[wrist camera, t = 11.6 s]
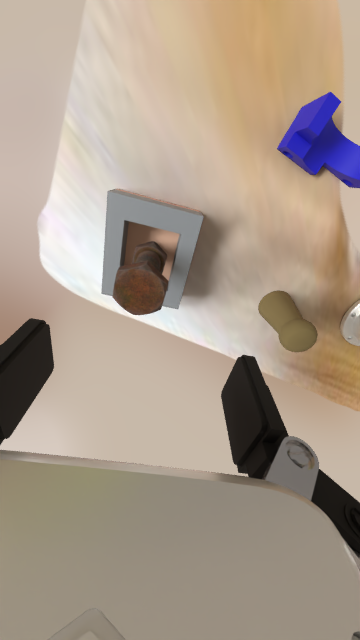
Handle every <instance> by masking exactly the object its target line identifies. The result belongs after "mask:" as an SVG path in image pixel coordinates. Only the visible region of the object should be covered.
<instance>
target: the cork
mask: <svg viewBox="0 0 360 640" xmlns="http://www.w3.org/2000/svg"><path fill="white" fill-rule="evenodd" d="M258 310H259V313H260V315H261V316H262V317H263V318H264V319H265V320H266V321H267V322H268V323H269V324H270V325H271V326H272V327H273V328H274V329H275V330H276V331H277V333H278V334H279V340H280V343H281V344H282V345H283V347H284V348H286V349H287V350H289V351H292V352H303V351H305V350H308V349H309V348H311V347H312V346H313V345H314V344H315V342H316V340H317V330H316V328H315V327H314V326H313V325H312V323H310V322H308V321H306V320H305V319H303V318H302V316H301V314H300V313H299V311H298V309H297V307H296V306H295V304H294V302H293V300H292V299H291V297H290V296H289V294H288V293H286V292H284V291H273V292H271V293H269V294H267V295H266V296H264V297H263V299H262V300H261V301H260V303H259V308H258Z"/></svg>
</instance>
